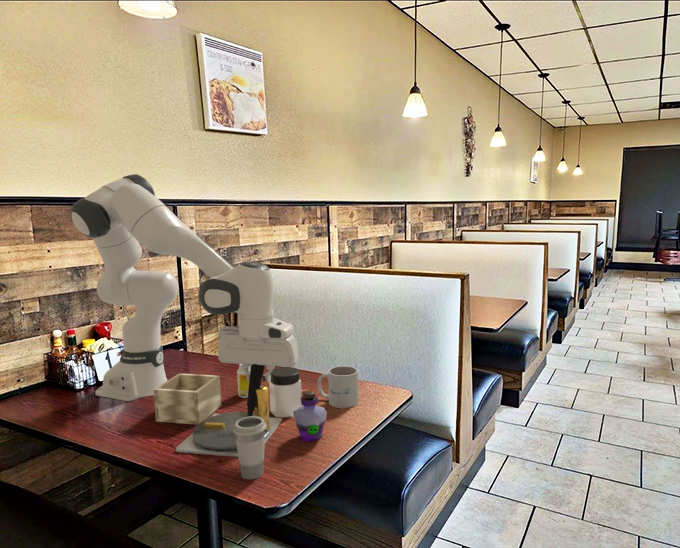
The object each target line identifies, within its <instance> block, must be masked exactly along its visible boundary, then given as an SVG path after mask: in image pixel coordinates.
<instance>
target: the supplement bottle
mask: <svg viewBox="0 0 680 548" xmlns="http://www.w3.org/2000/svg"><path fill="white" fill-rule="evenodd" d="M238 366H239V367H238V369H237V370H236V378H237V379H236V380H237V382H236V383H237V394H238V395H237V396H238V397H240V398H241V399H242V398H243V399H247V398H248V389H249V381H247V375H246V373H245V372H244V370H243V369H242V364H238ZM249 368H250V370H251V365H250V366H249Z"/></svg>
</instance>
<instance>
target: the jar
mask: <svg viewBox="0 0 680 548" xmlns="http://www.w3.org/2000/svg"><path fill="white" fill-rule="evenodd" d="M300 375H301V374H300V370H299V369H298V368H296V367H294V366H293V367H283V366H280V367H277V368H276V367H275V368H274V369H273V371H272V373H271V381H270V382H268V384H269V385H268V386H269V387H268V389H269V412H270V413H271V414H272V415H273V416H274V418H294V414H293V411H295V410H296V409H298V408H300V407H303V405H302V404H301V397H302V396H303V392H302V380H301V379H300Z"/></svg>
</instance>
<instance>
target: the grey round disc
mask: <svg viewBox="0 0 680 548" xmlns="http://www.w3.org/2000/svg"><path fill="white" fill-rule="evenodd" d="M268 386H269V385H266V384H261V386H260V388H259V389H258V390H256V393H257V405H256V407H255V410H254V411H253V415H252V416H257V417H261V418H262V419H263V420H264V422H265V423H266V425H267V427H266V429H265V430H264V433H265V436H266V435H267V434H268V433H269V431H270V422H269V418H270V398H269V387H268ZM218 414H219V415H215V416H212V415H211V416H212V417H211V416H209V417H208V418H207V419H205V420H203V421H202V422H200V423H199V424H198V425H195V426H194V428H193V430H192V433H193V440H194V442H195V443H196V444H197V445H199V446H201V447H204V448H208V449H214V450H229V449H237V445H236V434H235V433H234V432H233V428H234V426H235V423H236V421H238V420H239V419H241V418H244V417H247V414H248V411H230V412H224V413H218Z"/></svg>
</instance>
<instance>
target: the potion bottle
mask: <svg viewBox="0 0 680 548" xmlns="http://www.w3.org/2000/svg"><path fill="white" fill-rule="evenodd" d="M316 393H317V392H316V391H314V390H308V391H304V392H302V397H301V404H302V407H300V408H298V409H296V410H295V411H293V414H294V416H293V418H294V422H295V424H296V425H295V426H296V428H297V430H298V433H299V434H298V435H299V437H300V440H301V441H303V442H307V443H311V442H316V441H319V440H320V439H322V437H323V431H324V427H325V425H326V420H327V415H328V412H327V411H326V409H325V408H326V407H324V406H318V404H319V397H318V395H317V394H316Z"/></svg>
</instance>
